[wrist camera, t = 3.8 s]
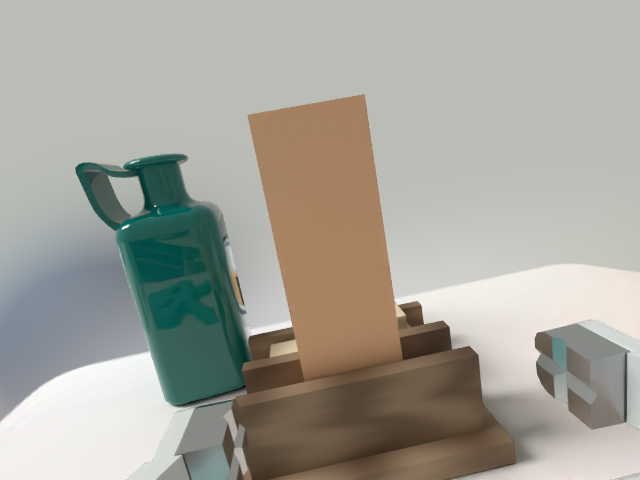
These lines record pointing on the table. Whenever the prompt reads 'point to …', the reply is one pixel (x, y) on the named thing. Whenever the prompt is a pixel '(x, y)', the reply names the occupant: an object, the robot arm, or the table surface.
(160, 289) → the pitcher
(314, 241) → the panel
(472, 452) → the rack
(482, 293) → the table surface
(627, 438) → the table surface
